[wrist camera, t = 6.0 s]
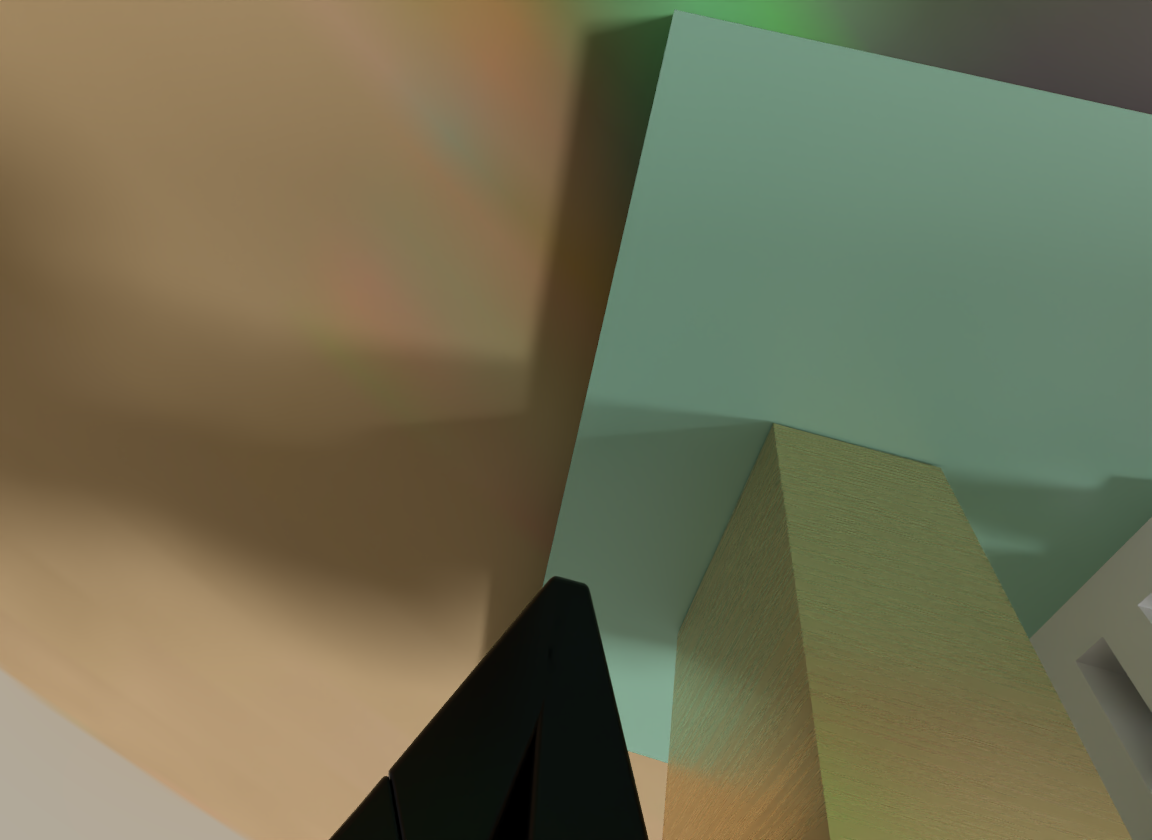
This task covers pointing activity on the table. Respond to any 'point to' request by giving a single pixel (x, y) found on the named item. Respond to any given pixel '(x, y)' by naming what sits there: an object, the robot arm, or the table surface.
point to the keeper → (865, 671)
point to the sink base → (880, 349)
